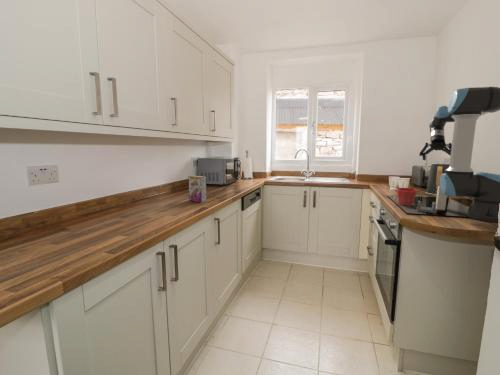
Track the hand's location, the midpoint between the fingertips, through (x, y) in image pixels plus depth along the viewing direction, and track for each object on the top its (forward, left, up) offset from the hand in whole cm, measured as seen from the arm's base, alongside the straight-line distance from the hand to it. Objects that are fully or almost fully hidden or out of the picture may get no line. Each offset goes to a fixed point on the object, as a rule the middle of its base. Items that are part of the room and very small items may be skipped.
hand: (439, 164), depth 163 cm
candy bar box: (+48, +141, -26) cm, 151 cm away
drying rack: (-11, +19, -25) cm, 34 cm away
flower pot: (+6, +16, -26) cm, 31 cm away
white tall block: (-9, +6, -25) cm, 28 cm away
